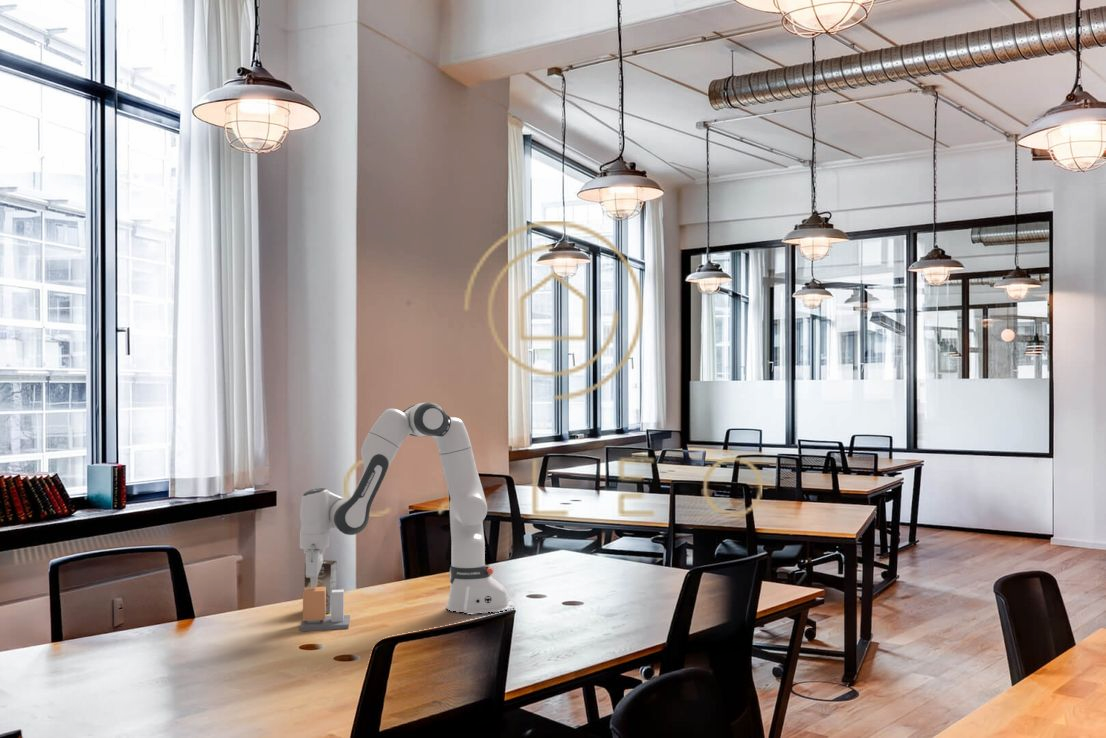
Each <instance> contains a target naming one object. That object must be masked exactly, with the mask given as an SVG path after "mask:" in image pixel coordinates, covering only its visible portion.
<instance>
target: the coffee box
mask: <svg viewBox="0 0 1106 738" xmlns="http://www.w3.org/2000/svg"><path fill="white" fill-rule="evenodd" d="M337 562H338V561H337V560H325V559H323V563H322V567H321V569H320V572H319V575H318V580H317V587H326V614H331V592H332V590H337V567H338V563H337ZM305 587H311V581H310V578H307V577H306V562H305V563H304V588H305Z"/></svg>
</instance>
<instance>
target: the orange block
mask: <svg viewBox="0 0 1106 738" xmlns="http://www.w3.org/2000/svg"><path fill="white" fill-rule="evenodd" d="M325 616H327V613H326V587H316V588H311V587H305V586H304V589H303V591H302V622H303V621H314V620H325Z"/></svg>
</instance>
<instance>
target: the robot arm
mask: <svg viewBox="0 0 1106 738" xmlns="http://www.w3.org/2000/svg"><path fill="white" fill-rule="evenodd" d="M408 436H412V437H421V438H426V437H432V439H434V441H435V443H436V445H437V450H438V454H439V460H440V463H441V468H442V472H443V476H444V480H445V484H446V487H447V490H448V495H449V498H450V500H449V524H450V525H449V527H450V537H451V538H450V540H451V541H450V543H451V546H450V547H451V548H450V549H451V552H450V553H451V555H450V556H451V559H450V560H451V561H450V562H451V565H449V582H450V588H449V593H448V594H449V595H448V596H449V597H448V601H447V604H446V608H447V609H448V611H449V610H450V612H453V611H456V612H455V613H459V612H464V613H480V612H484V613H483V614H489V613H488V612H490V613H491V612H493V613H500V611H498V610H501V611H503V612H506V611H505V610H509V609H513V608H514V607H515V603H514V601H512V600H510V599H509V598H508V592H507V589H506V588H505V586H504V585H503V584H501V583H500V582H499V581H498V580H496V579H495V578H494V577H493V576H491V575H492V574H493V573H494V569H493V568H492V567H490V566H488V565H487V564H486V561H485V559H486V558H485V557H486V556H485V554H486V552H485V551H486V546H485V545H486V541H485V533H484V520H485V518H486V516H487V515H488V514H487V513H488V504H487V499H486V496H485V492H484V488H483V485H482V483H481V482H482V481H481V478H480V476H479V473H478V469H477V465H476V464H477V463H476V460H475V456H474V451H473V447H472V442H471V440H470V436H469V432H468V430H467V427H466V425H465V423H464V421H463V420H462V419H461V418H459V417H455V416H449V414H447V412H446V411H445V410H444V409H443V408H442V407H441V406H440V405H439V404H437V403H434V402H419V403H417V404H414V405H411V406H409V407H408V408H406V409H404V410H400V409H398V408H388V409H385V410H384V411H383V412H382V414H380V415H379V417H378V418H377V420H376V421H375V423H374V424H373V426H371V428H370V430H369V432H368V433H367V435H366V436H365V438H364V441H363V444H362V445H361V449H360V456H361V459H362V461H363V472H362V475H361V477H360V479H359V481H358V483H357V486H356V487H355V489H354V491H353V493H352V494H351V496H350V498H347V497H343V496H341V495H338V494H335V493H333V492H331V491H330V490H328V489H327V488H321V487H320V488H313V489H310V490H308V491H306V492H304V493H303V495H302V496H301V501H300V507H299V508H300V512H299V519H300V520H299V521H300V524H301V525H300V529H299V549H301V550H303V553H304V554H305V563H306V577H307V578H310V581H311V588H316V587H317V580H318V575H319V572H320V569H321V567H322V563H323V560H324V556H325V553H326V549H327V548H329V547H330V530H331V529H333V528H334V529H335V528H336V529H337V530H339V532H341V533H343V534H344V535H346V536H347V535H349V536H353V535H357V534H360V533H361V532H363V530H364V529H365V528H366V527H367V526H368V523H369V519H370V512H371V511H370V510H371V506H372V505H373V504H372V503H373V502H374V499H375V496H376V495H377V493H378V491H379V489H380V486H381V484H382V482H383V481H384V478H385V476H386V474H387V471H388V470H389V467H390V465H391V464H392V462H393V460H394V458H395V457H396V455H397V453H398V452H399V450H400V448H401V446H402V444H403V442H404V441H405V439H406V438H407V437H408ZM510 607H512V608H510ZM447 609H446V610H447ZM502 609H504V610H502ZM514 609H515V608H514ZM514 609H513V610H514ZM464 613H463V614H464ZM491 614H492V613H491Z"/></svg>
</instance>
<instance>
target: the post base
mask: <svg viewBox="0 0 1106 738" xmlns="http://www.w3.org/2000/svg"><path fill="white" fill-rule="evenodd" d="M344 607H345V589H344V588H343V589H336V590H332V592H331V613H330V615H326V616H325V620H320V622H319V623H308V621H303V620H302V622H301V624H300V631H301V632H304V631H307V632H308V631H323V630H325V631H327V630H346V629H349V626H350V621H351V615H350V614H345V608H344Z"/></svg>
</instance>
